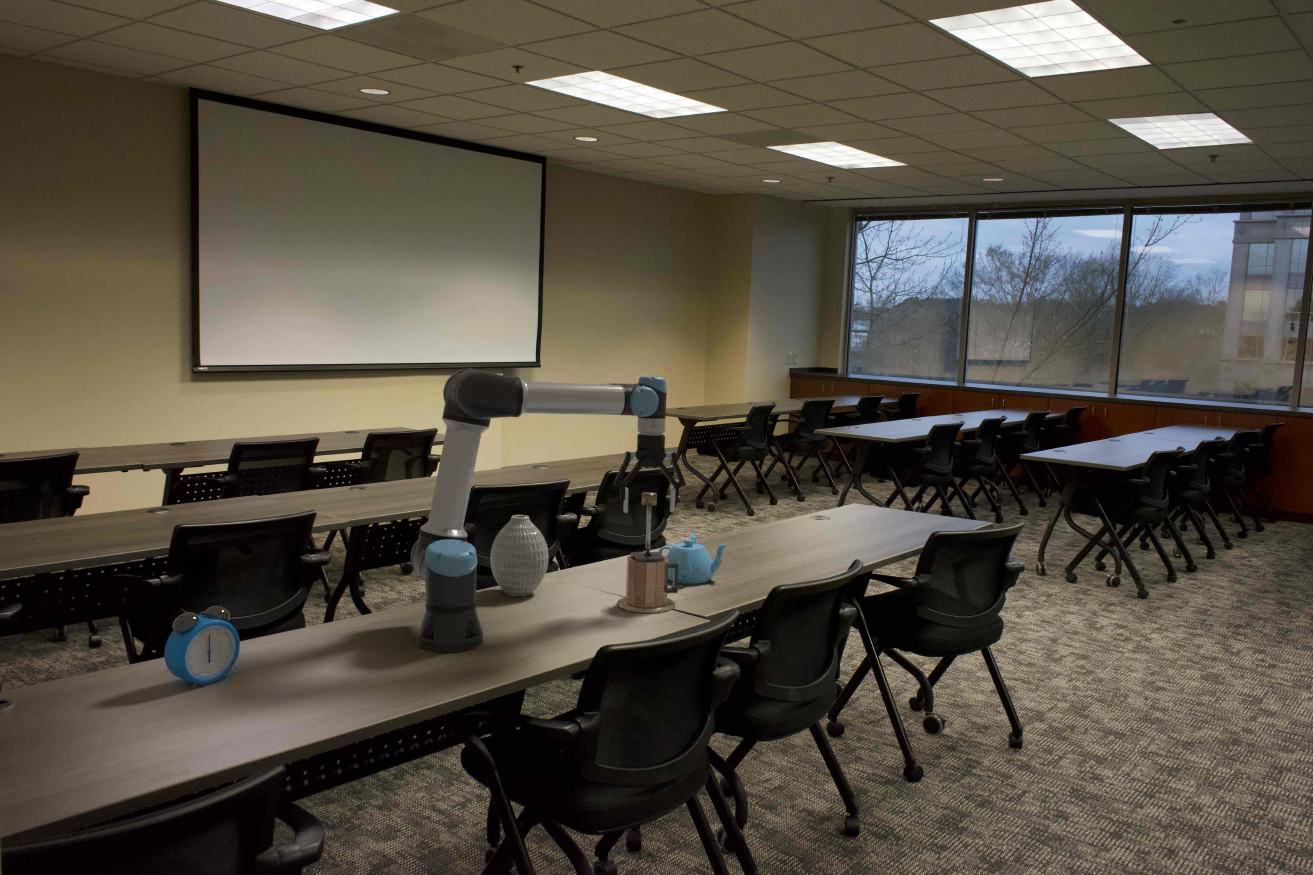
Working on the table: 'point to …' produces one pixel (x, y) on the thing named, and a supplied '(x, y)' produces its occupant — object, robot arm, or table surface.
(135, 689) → the table surface
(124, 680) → the table surface
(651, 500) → the plunger
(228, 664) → the alarm clock
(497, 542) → the vase
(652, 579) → the press
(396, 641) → the table surface
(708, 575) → the teapot
